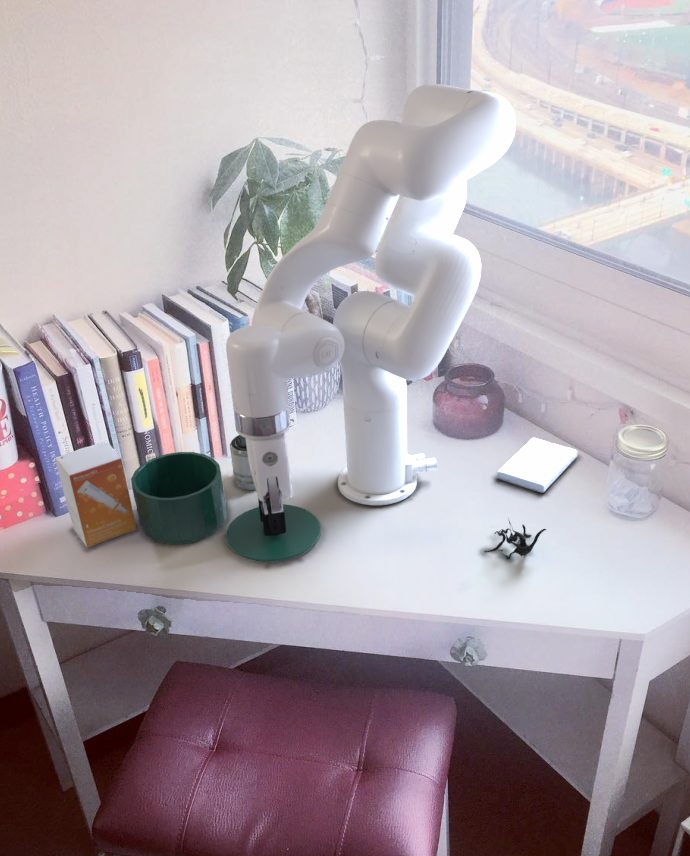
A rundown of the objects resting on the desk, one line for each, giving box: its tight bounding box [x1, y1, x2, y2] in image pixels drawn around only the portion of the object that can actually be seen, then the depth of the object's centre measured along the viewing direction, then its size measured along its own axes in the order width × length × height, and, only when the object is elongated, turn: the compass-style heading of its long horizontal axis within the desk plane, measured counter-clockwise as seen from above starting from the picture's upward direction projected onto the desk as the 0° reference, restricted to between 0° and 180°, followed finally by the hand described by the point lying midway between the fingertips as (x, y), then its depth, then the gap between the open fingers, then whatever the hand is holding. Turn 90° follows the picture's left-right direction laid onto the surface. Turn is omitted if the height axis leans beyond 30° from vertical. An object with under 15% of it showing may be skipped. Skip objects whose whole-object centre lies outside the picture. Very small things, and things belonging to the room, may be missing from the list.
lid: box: [225, 500, 322, 563], centre depth 133 cm, size 14×14×6 cm
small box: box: [54, 440, 137, 549], centre depth 134 cm, size 8×6×13 cm
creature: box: [484, 518, 547, 560], centre depth 128 cm, size 8×5×8 cm
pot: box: [130, 451, 228, 545], centre depth 137 cm, size 13×13×8 cm
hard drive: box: [496, 437, 578, 494], centre depth 146 cm, size 2×8×12 cm
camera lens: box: [229, 434, 256, 491], centre depth 145 cm, size 6×6×8 cm
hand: (273, 525), depth 134 cm, fingers closed on lid, 2 cm apart
